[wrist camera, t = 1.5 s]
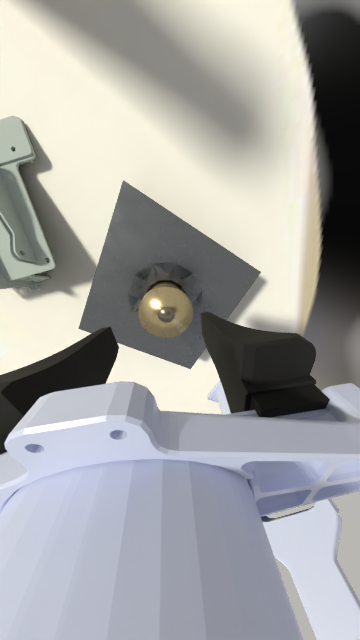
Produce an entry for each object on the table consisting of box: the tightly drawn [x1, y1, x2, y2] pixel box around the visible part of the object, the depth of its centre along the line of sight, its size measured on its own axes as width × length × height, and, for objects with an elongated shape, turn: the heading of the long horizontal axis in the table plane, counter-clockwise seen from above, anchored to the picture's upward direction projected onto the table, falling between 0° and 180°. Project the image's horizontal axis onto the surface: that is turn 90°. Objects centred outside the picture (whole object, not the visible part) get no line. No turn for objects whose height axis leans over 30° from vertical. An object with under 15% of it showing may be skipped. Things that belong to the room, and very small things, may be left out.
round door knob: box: [138, 280, 193, 338], centre depth 17 cm, size 5×5×7 cm
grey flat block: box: [79, 181, 261, 369], centre depth 19 cm, size 16×16×4 cm
